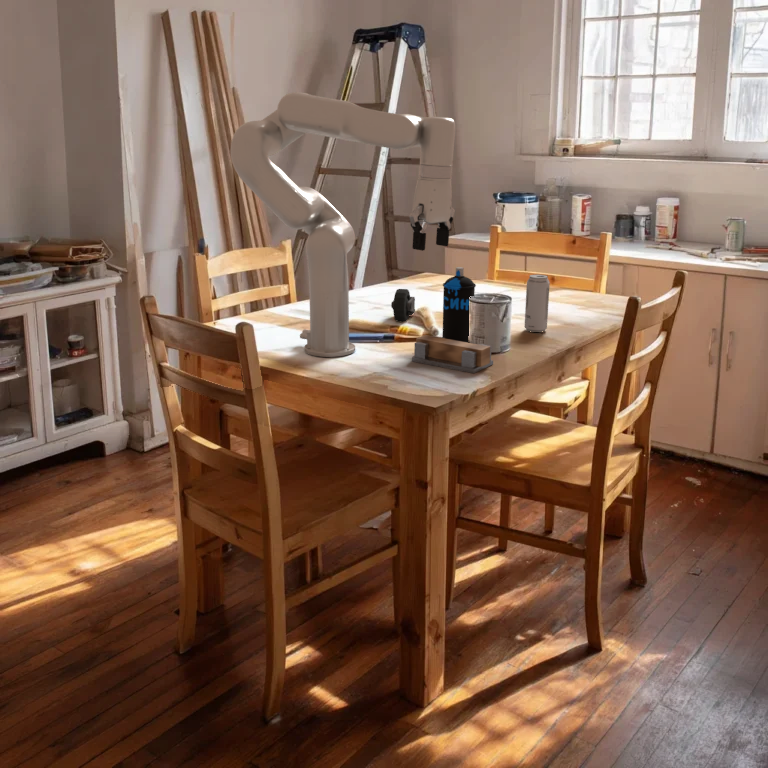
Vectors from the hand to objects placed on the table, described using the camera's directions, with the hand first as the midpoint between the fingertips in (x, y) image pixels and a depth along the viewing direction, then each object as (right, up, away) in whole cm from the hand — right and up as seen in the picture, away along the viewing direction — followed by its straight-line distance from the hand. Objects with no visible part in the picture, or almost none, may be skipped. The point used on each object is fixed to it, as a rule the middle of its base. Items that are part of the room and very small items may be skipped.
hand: (430, 247), depth 211 cm
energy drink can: (+30, -18, +32) cm, 48 cm away
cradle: (+5, -27, +2) cm, 28 cm away
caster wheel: (-5, -14, +46) cm, 48 cm away
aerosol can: (+8, -23, +17) cm, 29 cm away
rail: (+5, -26, +2) cm, 27 cm away
